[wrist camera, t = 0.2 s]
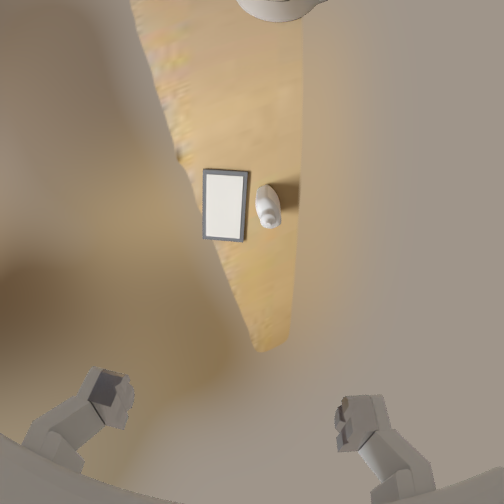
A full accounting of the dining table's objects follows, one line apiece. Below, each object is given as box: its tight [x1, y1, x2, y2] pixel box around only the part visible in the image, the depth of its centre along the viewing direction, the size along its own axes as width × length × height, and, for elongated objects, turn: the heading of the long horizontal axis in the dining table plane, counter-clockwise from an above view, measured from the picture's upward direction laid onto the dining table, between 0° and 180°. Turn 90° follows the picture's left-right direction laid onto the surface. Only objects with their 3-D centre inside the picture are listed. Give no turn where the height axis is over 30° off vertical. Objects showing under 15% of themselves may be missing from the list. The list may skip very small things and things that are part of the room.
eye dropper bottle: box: [256, 184, 281, 228], centre depth 50 cm, size 4×6×12 cm
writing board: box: [203, 169, 248, 242], centre depth 56 cm, size 14×8×1 cm, turn 176°
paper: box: [206, 174, 243, 239], centre depth 56 cm, size 12×7×1 cm, turn 176°
